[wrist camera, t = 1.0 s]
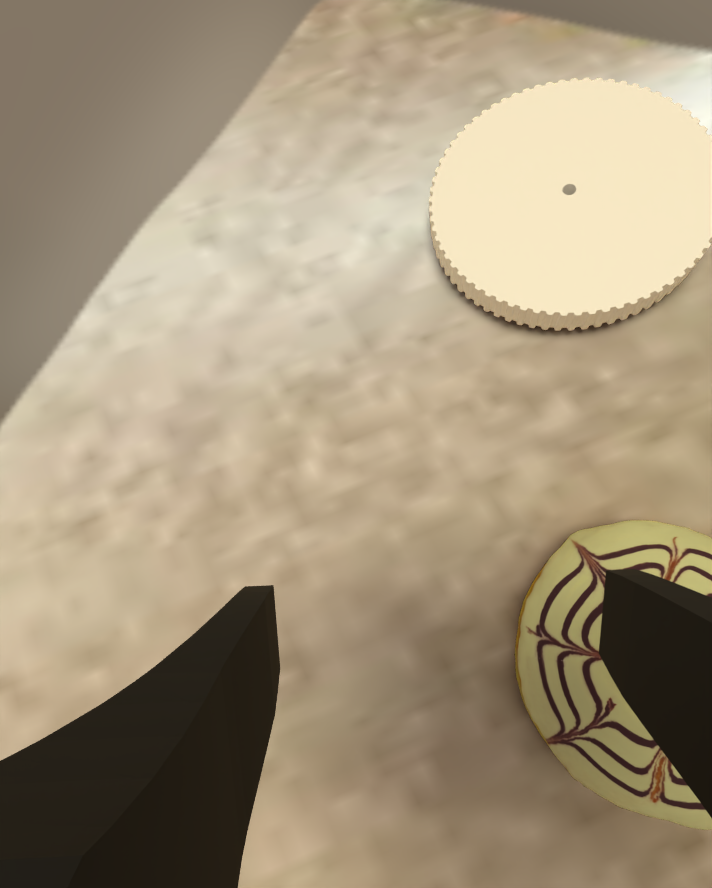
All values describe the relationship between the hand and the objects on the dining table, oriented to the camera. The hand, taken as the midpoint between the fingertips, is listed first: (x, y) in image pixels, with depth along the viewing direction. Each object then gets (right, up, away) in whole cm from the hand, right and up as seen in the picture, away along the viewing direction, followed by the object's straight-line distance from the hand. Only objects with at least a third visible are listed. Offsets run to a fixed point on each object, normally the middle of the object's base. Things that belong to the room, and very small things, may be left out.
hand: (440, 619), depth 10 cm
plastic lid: (+9, +16, +17) cm, 25 cm away
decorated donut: (+10, -5, +11) cm, 16 cm away
